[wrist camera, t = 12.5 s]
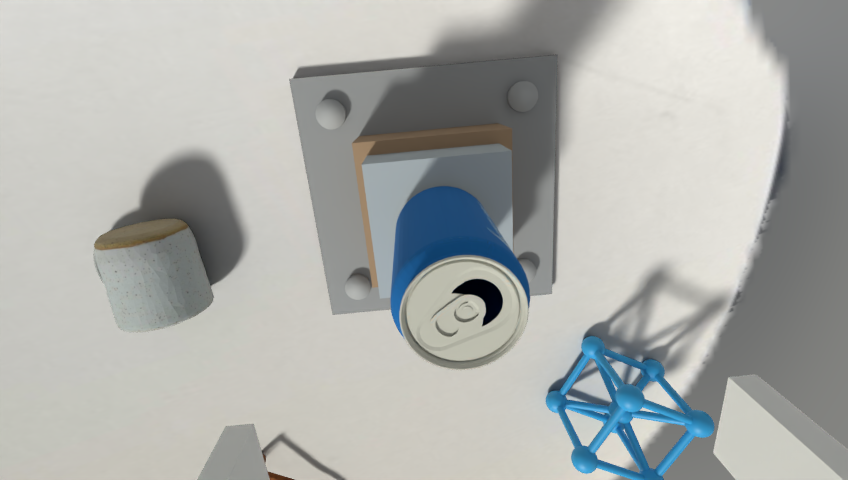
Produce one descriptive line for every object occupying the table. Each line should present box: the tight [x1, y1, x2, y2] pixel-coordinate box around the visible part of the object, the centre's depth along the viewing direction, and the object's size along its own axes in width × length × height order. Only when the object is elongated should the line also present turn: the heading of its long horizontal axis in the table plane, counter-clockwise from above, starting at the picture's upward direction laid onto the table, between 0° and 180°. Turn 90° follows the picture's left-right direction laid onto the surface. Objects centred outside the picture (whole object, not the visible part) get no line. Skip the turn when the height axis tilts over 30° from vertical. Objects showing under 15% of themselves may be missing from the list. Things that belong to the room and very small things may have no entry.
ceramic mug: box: [93, 219, 214, 333], centre depth 36 cm, size 11×8×8 cm
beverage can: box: [390, 186, 530, 370], centre depth 24 cm, size 6×6×12 cm
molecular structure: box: [546, 336, 714, 480], centre depth 42 cm, size 10×10×10 cm
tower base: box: [289, 55, 557, 315], centre depth 34 cm, size 22×22×10 cm
